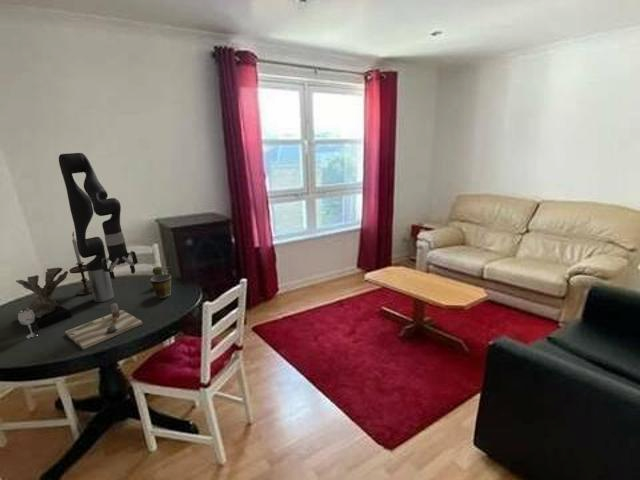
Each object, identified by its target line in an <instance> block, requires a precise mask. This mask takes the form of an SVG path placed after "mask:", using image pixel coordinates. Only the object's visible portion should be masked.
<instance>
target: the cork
mask: <svg viewBox="0 0 640 480" xmlns="http://www.w3.org/2000/svg"><path fill="white" fill-rule="evenodd" d="M152 273H153V275H154V276H153V277H155V276H158V275H163V273H164V272H163V268H162V266H155V267H154V268H152Z"/></svg>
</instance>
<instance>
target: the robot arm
mask: <svg viewBox="0 0 640 480" xmlns="http://www.w3.org/2000/svg"><path fill="white" fill-rule="evenodd" d="M58 165H59V168H60V171H61V175H62V178H63V181H64V185H65V190H66V193H67V199H68V203H69V205H68V206H69V211H70V214H71V217H72V221H73V226H74V233H75V239H76V241H77V247H78V251H79V254H80V257H81V259H82V258H83V259H87V258H90V257H94V258H93V259H92V260H90V261H88V262H87V264H85V265H86V269H87V271H86V272H87V275H88V279H89V284H90V287H91V289H92V296H93V301H94V302H97V303H102V302H107V301H109V300H111V299H113V298H114V297H115V294H114V290H113V284H112V280H115V279H116V276H115V272H114V270H115V268H116V267H117V266H119V265H122V264H125V263H127V264H128V265H129V269H130V274H135V273H136V269H135V265H137V264H139V262H138V261H139V260H138V258H137V254H136V252H135V251H133V250H131V251H129V252H128V250H127V246H126V241H125V240H126V239H125V237H124V234H123V230H122V225H121V211H122V210H121V209H122V207H121V203H120V201H119V200H118V198H116V197H109V198H108V192H107V190H106V189H105V187H104V186H103V185H102V184H101V182H100V181H99V179H98V178H97V175H96V173H95V171H94V168H93V167H92V165H91V162H90V160H89V158H88V157H87V156H86V154H85V153H83V152H71V153H61V154H59V156H58ZM83 173H84V174H85V177H84V180H83V189H82V188H81V187H80V186H79V185H78V184H77V182H76V181H75V179H74V176H73V174H83ZM94 213H95V214H96V215H97V216H99V217H104V216H110V215H111V216H110V218H108V219H106V220H104V221H103V222H102V223H101V224H102V230H103V233H104V240H105V245H106V249H107V254H108V257H107V255H106V250H105V245H104V241H103V239H102V238H101V237H99V236H94V237H93V236H92V237H89V238H87V236H86V233H87V229H88V226H89V225H90V223H91V220H92V218H93V216H94ZM129 256H130V257H131V259H132V261H131V260H129V259H128V258H129ZM109 261H110V264H109V267H108V263H109Z"/></svg>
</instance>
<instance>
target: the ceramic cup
mask: <svg viewBox="0 0 640 480" xmlns="http://www.w3.org/2000/svg"><path fill="white" fill-rule="evenodd" d="M162 274H163V273H162ZM150 283H151V285H152V287H153V291H154V293H155V294H156V297H157V298H159V299H162V298H163V297H164V298H168V297H169V296H171V295H172V293H171V292H172V275H171V274H169V273H168V274H165V273H164V274H163V275H158V276H155V277H154V276H152V277H151V278H150ZM167 296H168V297H167Z"/></svg>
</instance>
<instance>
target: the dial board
mask: <svg viewBox="0 0 640 480" xmlns="http://www.w3.org/2000/svg"><path fill="white" fill-rule="evenodd" d="M119 313H120V316H119V317H118V318H117V320H116V324H115V327H116V331H114V332H111V333H108V332H107V328H109V327H111V324H112V321H113V317H112V313H109V314H108V315H105V316H103V317H100V318H97V319H94V320H91V321H89V322H87V323H86V322H85V323H84V324H81V325H78V326H76V327H73V328H71V329H67V330H65V331H64V333H65V335H66V336H67V337H68V338H69V339H70V340H71V341H73V342H74V343H75V344H76V345H78V346H79V347H80V348H81V349H82V350H85V349H89V348H90V347H92V346H95V345H97V344H99V343H102V342H104V341H107V340H108V339H111V338H113V337H115V336H118V335H120V334H122V333H125V332H128V331H130V330H133V329H135V328H137V327H139V326H141V325H143V321H142V320H140V319H139V318H137V317H135V316H133V315H132V314H131V313H128V312H126V310H123V309H121V310H119Z"/></svg>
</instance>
